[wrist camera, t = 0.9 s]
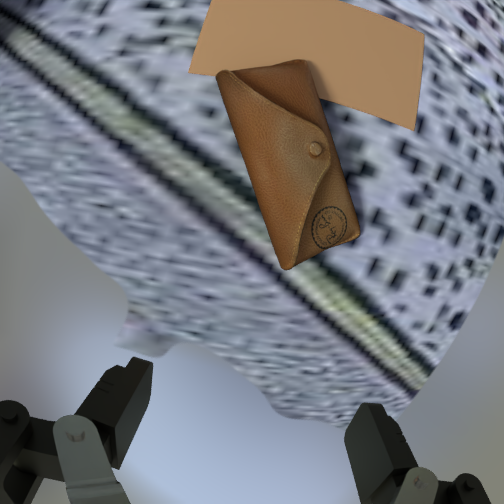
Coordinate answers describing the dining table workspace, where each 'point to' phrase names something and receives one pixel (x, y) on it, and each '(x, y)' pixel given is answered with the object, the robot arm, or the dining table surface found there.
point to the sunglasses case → (290, 158)
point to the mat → (320, 50)
